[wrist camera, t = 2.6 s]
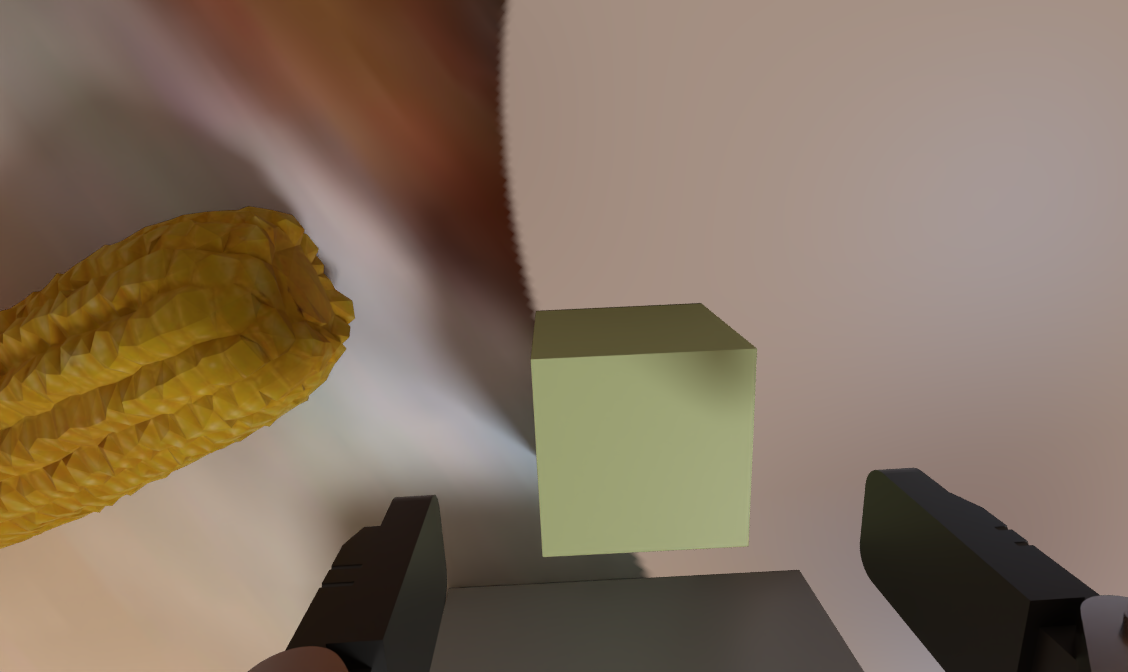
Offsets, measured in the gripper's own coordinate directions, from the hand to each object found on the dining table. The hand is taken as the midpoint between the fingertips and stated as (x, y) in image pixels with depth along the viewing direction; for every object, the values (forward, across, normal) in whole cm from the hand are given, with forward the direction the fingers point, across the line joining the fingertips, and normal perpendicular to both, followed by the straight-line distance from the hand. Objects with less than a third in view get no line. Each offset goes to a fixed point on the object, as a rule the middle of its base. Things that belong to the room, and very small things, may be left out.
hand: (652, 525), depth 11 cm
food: (+8, +17, 0) cm, 19 cm away
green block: (+8, 0, 0) cm, 8 cm away
